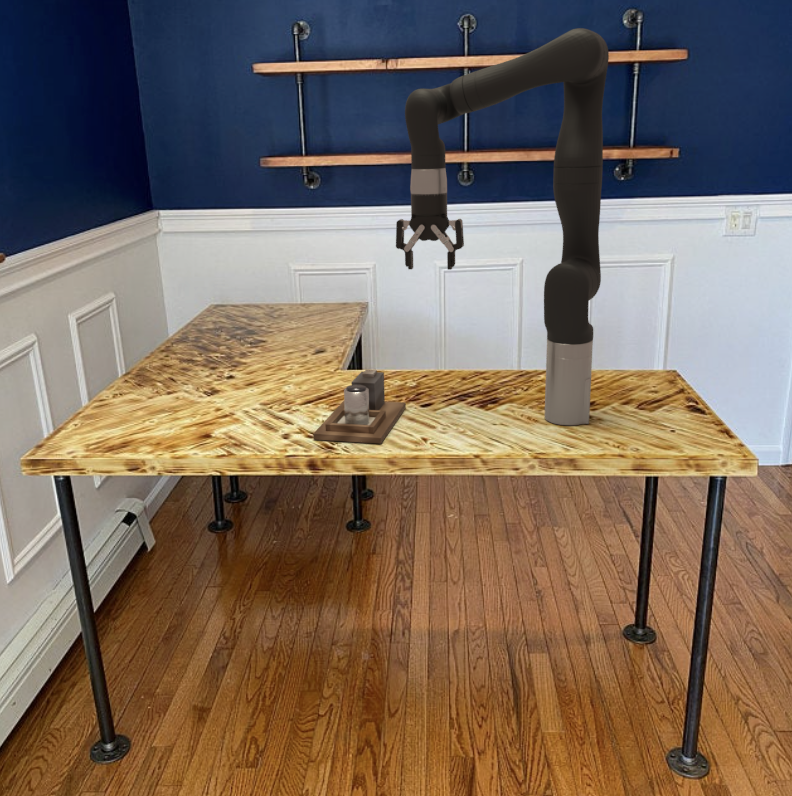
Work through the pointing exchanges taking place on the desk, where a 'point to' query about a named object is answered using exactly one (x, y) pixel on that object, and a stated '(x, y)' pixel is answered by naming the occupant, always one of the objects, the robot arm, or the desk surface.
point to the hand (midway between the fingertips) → (430, 268)
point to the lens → (356, 404)
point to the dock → (379, 415)
